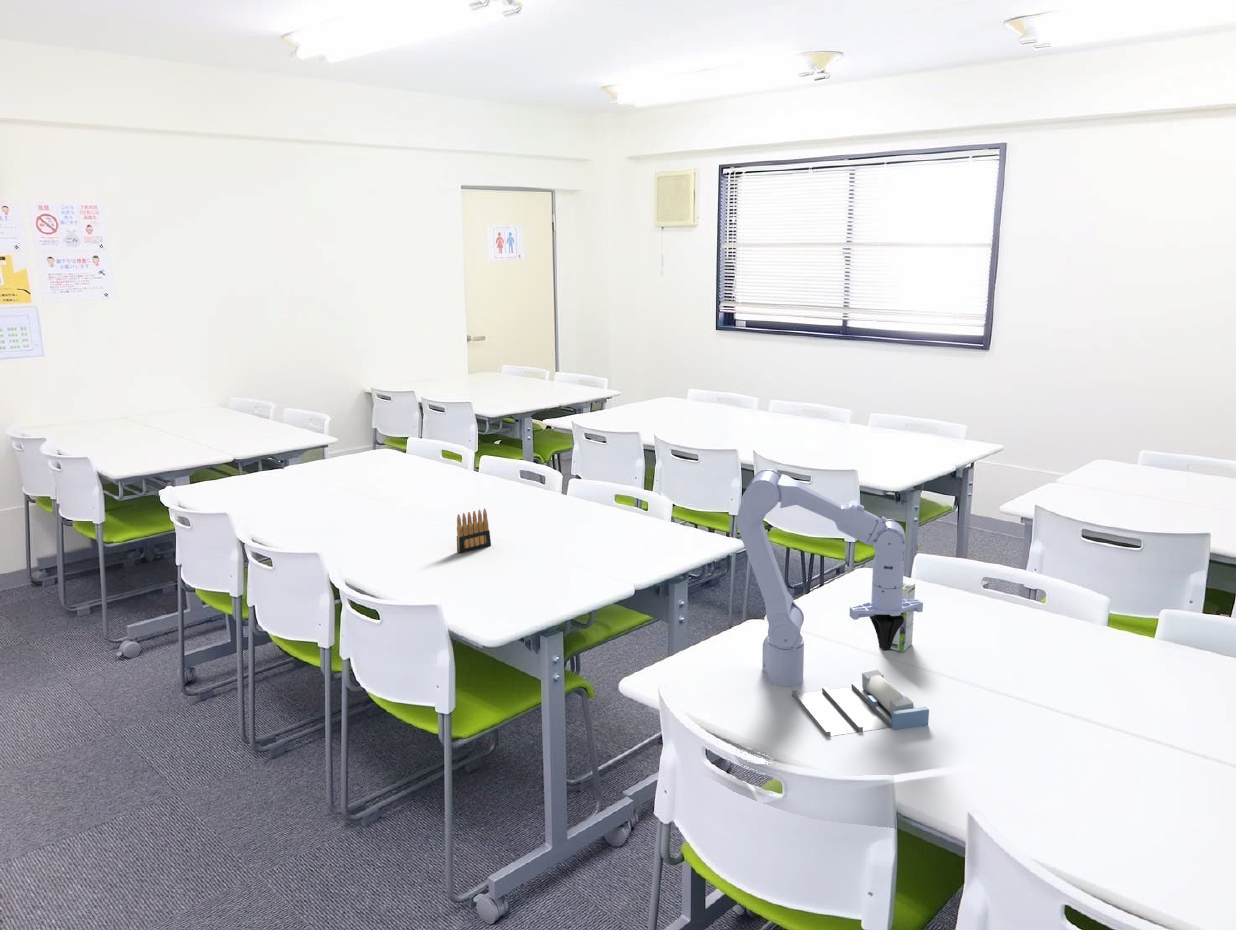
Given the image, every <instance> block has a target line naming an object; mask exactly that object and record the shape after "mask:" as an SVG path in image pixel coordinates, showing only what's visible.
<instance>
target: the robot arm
mask: <svg viewBox="0 0 1236 930" xmlns="http://www.w3.org/2000/svg"><path fill="white" fill-rule="evenodd" d="M778 503H780V506H779V507H780V508H779V509H784V508H787V507H792V506H798V507H800V508H803V509H805V510H807V511H810V512H813V513H814V514H817V515H819V516H821V517H824V518H826V519H828V520H831V521H833V522H834V523H835V526H836V529H837V530H838V531H839V532H841V533H843V534H845V535H847V536H849V537H850V538H851V537H852V538H853V539H855V540H857V541H860V542H861V543H863V544H865V545H868V546H873V550H874V558H873V560H872V579H871V580H872V581H871V582H872V583H871V584H872V585H871V601H867V602H864V603H861V604H859V605H854V606H853V605H852V606H850V607H849V617H850V619H853V621H855V620H859V618H860V619H861V618H868V617H869V619H870V621H871V623H872V626H873V628H874V631H875V633H876V637H877V643H878V647H879V648H880V649H881V650H882V651H884V652H886V651H890V650H891V649H890V648H891V645H892V642H893V639H894V637H895V635H896V633H897V631H898V629H899V628H900V626H901V625H902V624H903V622H904V617H902V616H901V613H904V612H913V611H914V612H916V613H922V612H924V611H923V610H924V603H923V601H921V600H920V599H917V598H914V600H903V599H902V592H903V581H904V570H905V569H904V568H905V567H904V566H905V561H904V557H905V551H906V548H907V544H906V533H905V530H904V528H903V526H902V525H901V523H899V522H897V521H896V520H895V519H892V518H887V517H884V516H881V517H879V516H877V515H875V514H873V513H872V512H869V511H867V510H865V505H863V504H860V503H858V504H857V505H855V504H853V503H849V504H845V505H841V504H839V503H837V502H835V501H833V500H831V499H830V498H828V497H826V496H824V495H822V494H821V493H819V492H817V491H815V490H814V489H811V488H810V487H808V486H806V485H805V484H802V483H801V482H798V481H797V480H796V479H794V478H792V477H791V476H789V475H786V474H783V473H782V474H780V473H779V472H778V471H776V470H774V469H769V468H765V469H761V470H760V471H758V472H757V473H756V474H755V475H754V476H753V478H752V479H751V480H750V481H749V483H748V485H747V488H746V490H745V491H744V492H743V494H742V496H741V500H740V505H739V508H738V512H737V516H736V520H735V523H736V527H737V529H738V533H739V535H740V538H741V540H742V543H743V545H744V549H745V551H746V554H747V557H748V559H749V562H750V566H751V567H752V571H753V574H754V577H755V579H756V583H757V584H758V587H759V590H760V593H761V596H762V598H763V601H764V604H765V615H766V619H767V622H768V628H767V630H768V631H767V636H766V637H765V638H764V639H763V642H762V662H761V663H762V665H761V667H762V670H763V672H764V673H765V674H766V676H767V680H768V682H769V683H771V684H773V685H775V686H778V687H785V688H786V687H787V688H789V687H790V688H791V687H797V686H799V685H801V684H802V683H803V682H804V659H805V658H804V657H805V655H804V653H805V639H804V637H803V635H802V634H801V630H802V626H803V624H804V620H805V616H804V613H803V610H802V609H801V608H800V607H799V606H798V604H796V603H795V601H794V598H793V596H792V595H791V593H789V591H788V589H787V586H786V583H785V580H784V578H783V575H782V572H781V570H780V567H779V563H778V561H777V559H776V556H775V553H774V550H773V547H772V544H771V541H770V538H769V535H768V534H767V530H766V528H765V525H764V522H763V521H764V519H765V517H767V514H768V513H770V512H771V511H772V510H773V509H774V508H775V507H776V506H777V504H778Z"/></svg>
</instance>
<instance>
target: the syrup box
mask: <svg viewBox="0 0 1236 930" xmlns="http://www.w3.org/2000/svg"><path fill="white" fill-rule="evenodd" d="M915 596H916V583H914V582H910V581H909V582H907V581H904V580H903V592H902V599H903V600H915V599H916V598H915ZM914 613H915V611H913V612H904V613H901V616H902V617H904V622H903V624H902V625H901V626H900V628H899V629H898V631H897V633H896V635H895V637H894V639H893V642H892V645H891V648H890V650H893V651H897V652H901V653H904V652H905V651H906V650H907V649H908V648H909V647H910V646H911V645H912V643H913V631H914Z"/></svg>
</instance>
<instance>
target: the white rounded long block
mask: <svg viewBox="0 0 1236 930" xmlns="http://www.w3.org/2000/svg"><path fill="white" fill-rule="evenodd" d="M884 677H885V676H884V674H883V673H882V672H881V671H880V670H878V669H875V670H874V669H873V670H871V671H866V672H861V682H862V683H861V684H862V685H861V686H863V689H864V690H865V691H866V692H867V693H868V694H871V695H872V696H873V697H874V698H875V699H876V700H877V701H878V702H879V703H880V704H881V705H882V706H883V707H884V708H885V709H886V710H887V711H888V712H889V713H890V714H891V717H892V711H899V710H906V709H913V708H914V707H915V706H914V702H913V701H912V700H911V699H910V698H909V697H908V696H907V697H903V696H902V695H901V694H900V693H899V692H900V691H898V690H897V689H896V688H895V687H894V686H893V685H892V684H891V683H890V682H889V681H887V680H886V679H885V678H884Z"/></svg>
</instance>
